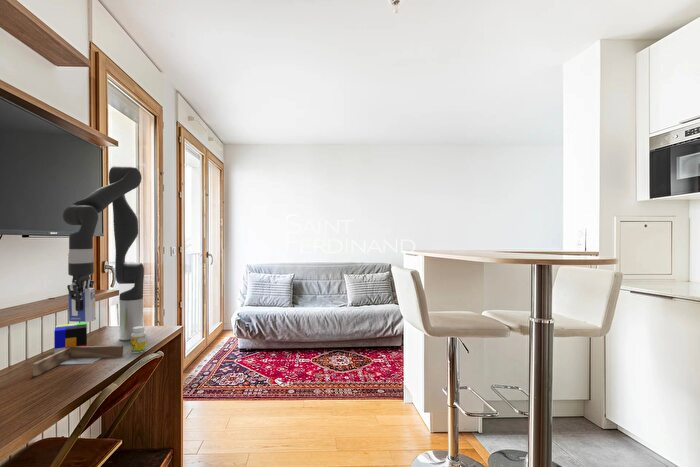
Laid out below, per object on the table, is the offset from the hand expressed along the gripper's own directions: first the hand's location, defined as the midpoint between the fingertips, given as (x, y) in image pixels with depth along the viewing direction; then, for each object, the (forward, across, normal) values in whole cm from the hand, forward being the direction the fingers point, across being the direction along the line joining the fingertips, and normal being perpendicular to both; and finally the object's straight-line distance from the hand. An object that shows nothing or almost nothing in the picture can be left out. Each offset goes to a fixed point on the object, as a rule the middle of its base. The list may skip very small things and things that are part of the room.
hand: (81, 309), depth 142 cm
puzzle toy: (+19, +13, +10) cm, 25 cm away
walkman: (+4, +1, 0) cm, 4 cm away
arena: (+19, -4, -2) cm, 19 cm away
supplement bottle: (+19, +10, -16) cm, 27 cm away
